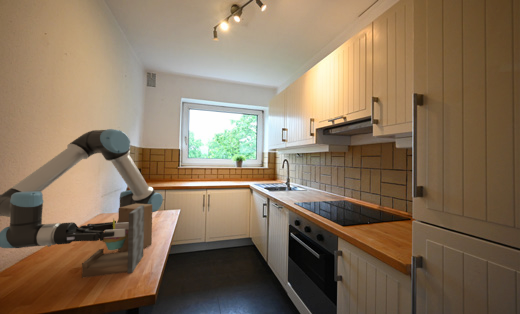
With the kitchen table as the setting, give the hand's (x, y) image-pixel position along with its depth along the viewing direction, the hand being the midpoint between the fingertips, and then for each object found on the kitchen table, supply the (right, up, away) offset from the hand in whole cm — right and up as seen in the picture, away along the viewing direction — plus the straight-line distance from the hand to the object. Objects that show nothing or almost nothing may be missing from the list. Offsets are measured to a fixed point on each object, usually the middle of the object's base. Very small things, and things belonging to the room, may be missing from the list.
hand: (129, 228), depth 80 cm
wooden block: (-7, -15, +16) cm, 23 cm away
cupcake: (-5, -7, -1) cm, 9 cm away
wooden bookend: (-5, -14, -1) cm, 15 cm away
